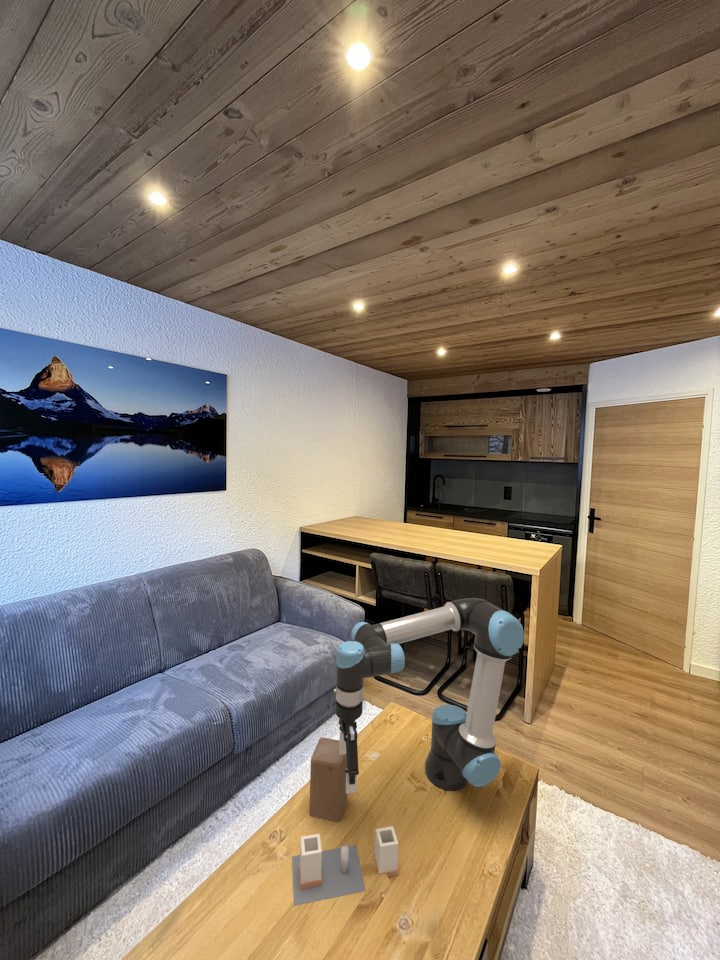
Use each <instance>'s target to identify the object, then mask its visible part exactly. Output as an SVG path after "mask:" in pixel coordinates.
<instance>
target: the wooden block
mask: <svg viewBox="0 0 720 960" xmlns="http://www.w3.org/2000/svg"><path fill="white" fill-rule="evenodd" d="M310 757H311V758H310V773H309V774H310V777H309V816H310V817H312V818H317V819H321V820H325V821H330V822H334V823H340V822H341V821H342V818H343V814H344V810H345V806H346V803H347V800H348V794H346V773H345V770H346V768H347V755H346V754H342V755H339V740H338V739H332V738H327V737H319V739H318V741H317V744H316V746H315V748H314V750H313V753H312V755H311V756H310Z"/></svg>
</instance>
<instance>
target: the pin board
mask: <svg viewBox="0 0 720 960" xmlns="http://www.w3.org/2000/svg"><path fill="white" fill-rule="evenodd" d="M291 862H292V863H291V867H292V869H291V871H292V889H293V890H292V893H293V894H292V895H293V906H299V905H305V904H309V903H314V902H319V901H323V900H329V899H334V898H338V897H339V898H340V897H344V896H349V895H353V894H357V893H362V892H366V886H365V885H366V884H365V881H364V876H363V870H362V865H361V862H360V857H359V852H358V846H357V845H356V844H354V845H353V844H352V845H349V846H348V845H346V844H344V845H342V846H341V847H338V848H337V847H336V848H330V849H325V850H322V864H321V874H322V886H317V887H312V888H307V889H302V890H300V875H299V862H300V854H297V855H293V856H291Z"/></svg>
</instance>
